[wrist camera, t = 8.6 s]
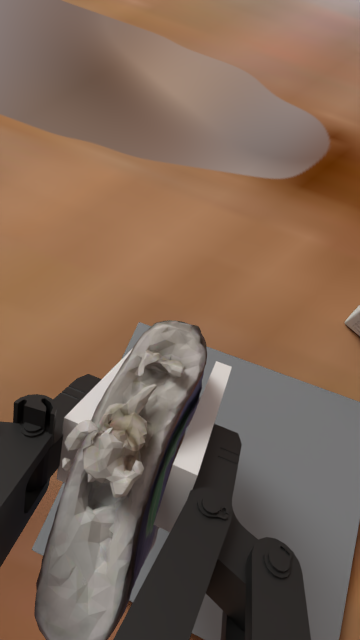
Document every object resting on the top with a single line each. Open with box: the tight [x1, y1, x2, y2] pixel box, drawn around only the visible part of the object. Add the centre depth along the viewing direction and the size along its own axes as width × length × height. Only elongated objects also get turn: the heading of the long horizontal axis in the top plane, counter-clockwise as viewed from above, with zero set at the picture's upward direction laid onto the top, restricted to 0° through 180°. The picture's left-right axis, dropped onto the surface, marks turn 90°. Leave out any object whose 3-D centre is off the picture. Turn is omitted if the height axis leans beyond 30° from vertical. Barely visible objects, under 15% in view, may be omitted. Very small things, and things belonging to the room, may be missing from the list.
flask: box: [35, 321, 207, 640], centre depth 13 cm, size 9×3×11 cm, turn 161°
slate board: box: [32, 322, 360, 640], centre depth 22 cm, size 18×16×1 cm
